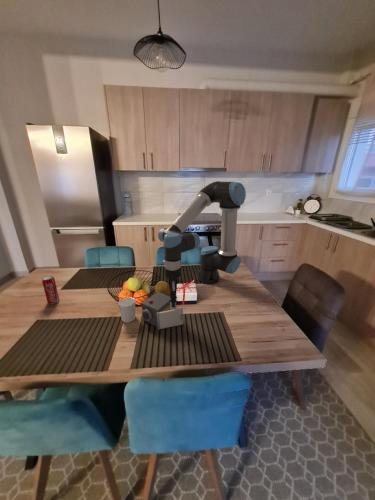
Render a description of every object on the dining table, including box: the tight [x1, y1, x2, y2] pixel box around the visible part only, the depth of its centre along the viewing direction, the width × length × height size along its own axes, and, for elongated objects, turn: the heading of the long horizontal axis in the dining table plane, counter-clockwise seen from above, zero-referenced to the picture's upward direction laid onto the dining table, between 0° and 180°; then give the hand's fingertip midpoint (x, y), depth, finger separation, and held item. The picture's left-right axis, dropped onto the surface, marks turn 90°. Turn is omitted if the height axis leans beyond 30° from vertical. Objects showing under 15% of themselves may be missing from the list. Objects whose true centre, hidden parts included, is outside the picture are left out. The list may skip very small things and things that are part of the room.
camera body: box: [141, 292, 170, 328], centre depth 103 cm, size 14×10×11 cm
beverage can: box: [41, 275, 60, 305], centre depth 115 cm, size 6×6×15 cm
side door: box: [156, 307, 184, 330], centre depth 97 cm, size 12×2×9 cm, turn 107°
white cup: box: [118, 296, 137, 324], centre depth 103 cm, size 8×8×10 cm
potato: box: [154, 280, 170, 296], centre depth 122 cm, size 10×13×9 cm
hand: (173, 311), depth 101 cm, fingers closed
